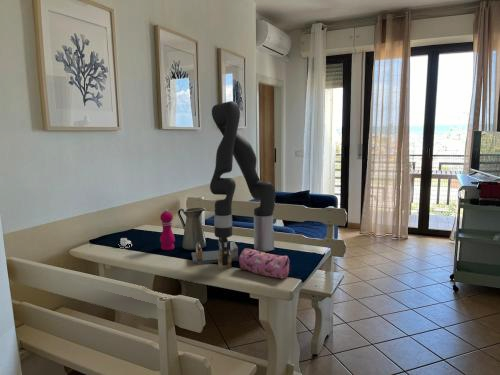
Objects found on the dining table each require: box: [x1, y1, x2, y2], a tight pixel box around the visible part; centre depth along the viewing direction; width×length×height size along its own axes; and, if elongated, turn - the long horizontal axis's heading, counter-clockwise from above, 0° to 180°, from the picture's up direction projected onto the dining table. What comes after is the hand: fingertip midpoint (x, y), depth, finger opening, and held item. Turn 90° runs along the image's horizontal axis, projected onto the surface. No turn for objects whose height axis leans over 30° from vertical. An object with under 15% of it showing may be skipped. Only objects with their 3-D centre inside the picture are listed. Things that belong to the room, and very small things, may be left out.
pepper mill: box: [159, 208, 176, 251], centre depth 181 cm, size 7×7×20 cm
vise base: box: [191, 241, 240, 265], centre depth 168 cm, size 20×12×6 cm, turn 102°
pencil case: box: [238, 247, 292, 280], centre depth 149 cm, size 21×9×9 cm, turn 57°
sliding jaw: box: [195, 241, 203, 259], centre depth 166 cm, size 2×10×5 cm, turn 12°
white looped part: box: [119, 237, 133, 249], centre depth 188 cm, size 9×8×4 cm
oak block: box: [217, 250, 232, 270], centre depth 157 cm, size 5×5×6 cm
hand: (223, 261), depth 158 cm, fingers open, 8 cm apart
